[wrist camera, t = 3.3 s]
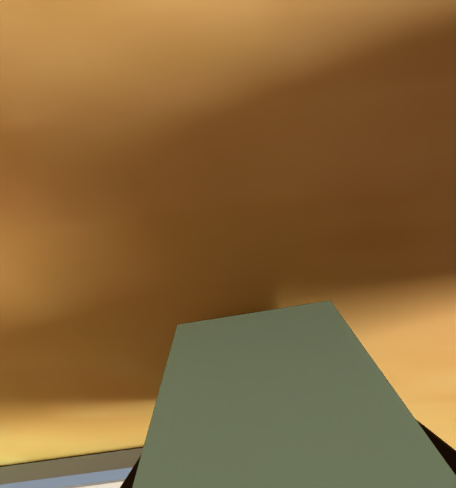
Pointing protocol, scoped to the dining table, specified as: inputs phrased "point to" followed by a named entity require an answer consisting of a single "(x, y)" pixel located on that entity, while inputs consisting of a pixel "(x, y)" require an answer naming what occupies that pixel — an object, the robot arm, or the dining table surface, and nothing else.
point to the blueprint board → (72, 471)
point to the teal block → (282, 410)
